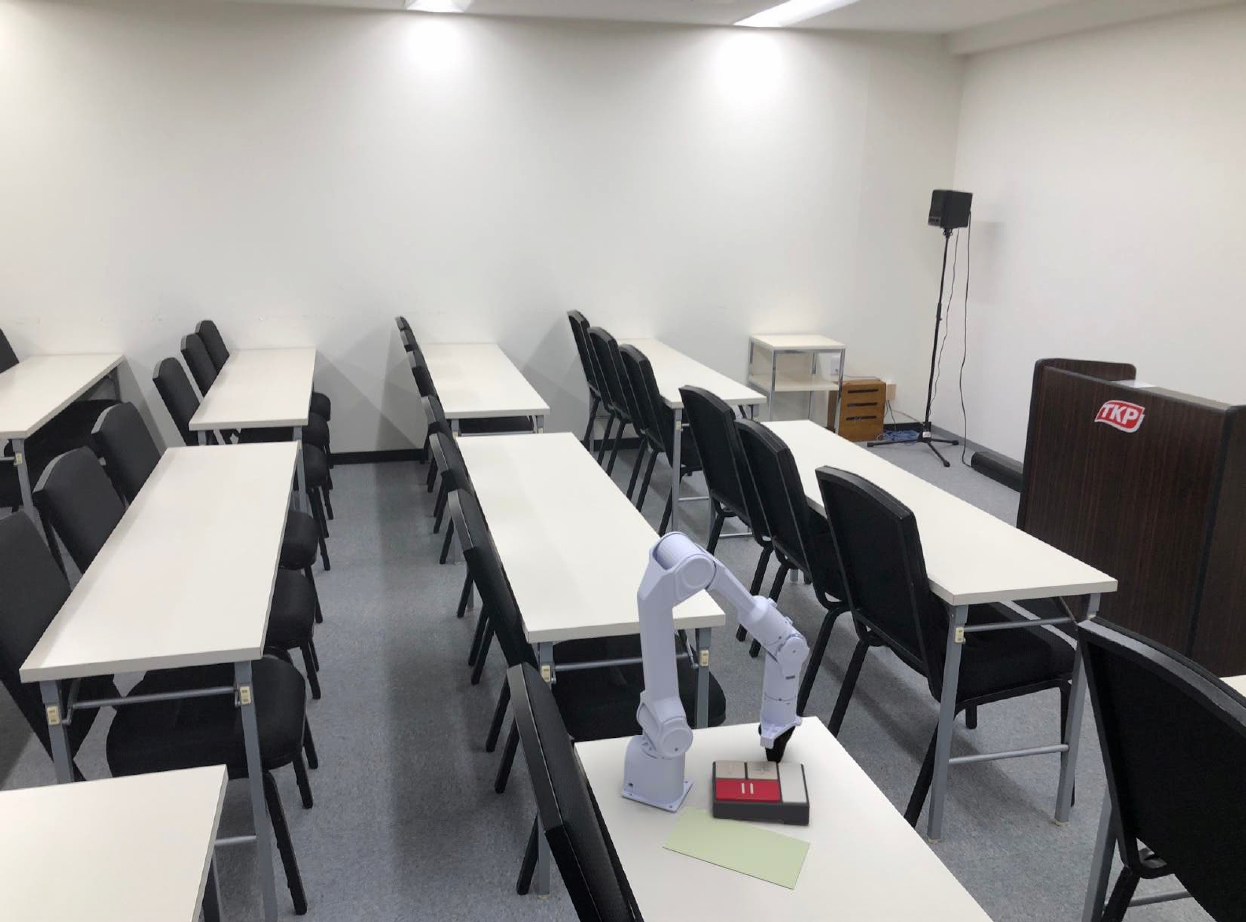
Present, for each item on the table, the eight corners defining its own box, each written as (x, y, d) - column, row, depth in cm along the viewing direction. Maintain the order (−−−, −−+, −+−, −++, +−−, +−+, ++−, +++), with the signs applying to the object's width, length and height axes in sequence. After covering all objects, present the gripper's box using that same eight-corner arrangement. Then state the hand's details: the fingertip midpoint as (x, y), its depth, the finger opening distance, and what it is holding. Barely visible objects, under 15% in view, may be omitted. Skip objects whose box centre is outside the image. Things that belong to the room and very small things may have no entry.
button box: (712, 756, 158) (803, 759, 157) (712, 778, 159) (802, 781, 158) (712, 798, 147) (810, 801, 146) (712, 821, 149) (809, 825, 147)
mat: (662, 847, 142) (662, 846, 142) (686, 806, 151) (686, 805, 151) (793, 889, 135) (793, 888, 135) (810, 843, 144) (810, 842, 144)
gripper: (793, 719, 149) (786, 792, 153) (814, 676, 162) (807, 744, 166) (750, 708, 152) (744, 780, 156) (773, 667, 164) (768, 734, 168)
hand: (774, 761), depth 161 cm, fingers closed
